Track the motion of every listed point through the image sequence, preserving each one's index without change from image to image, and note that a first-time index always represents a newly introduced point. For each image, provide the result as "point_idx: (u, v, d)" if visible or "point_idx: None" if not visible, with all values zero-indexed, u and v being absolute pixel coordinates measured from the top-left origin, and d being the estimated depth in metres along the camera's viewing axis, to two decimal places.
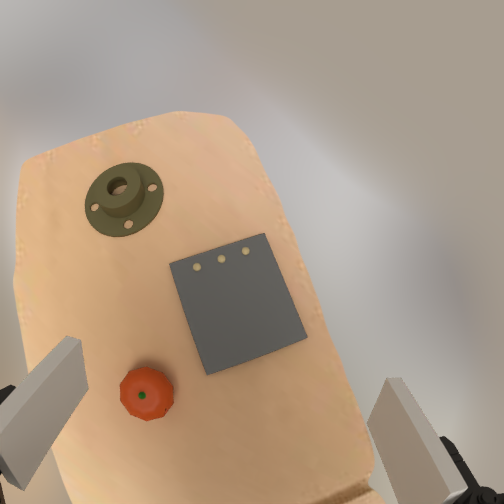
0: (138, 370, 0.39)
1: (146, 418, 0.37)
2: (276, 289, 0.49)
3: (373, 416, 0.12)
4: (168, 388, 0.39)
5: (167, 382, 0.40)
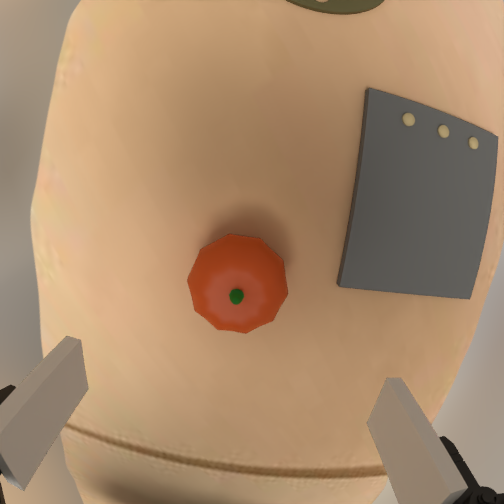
0: (248, 246, 0.23)
1: (221, 329, 0.24)
2: (478, 218, 0.26)
3: (373, 416, 0.12)
4: (285, 297, 0.24)
5: (285, 283, 0.24)
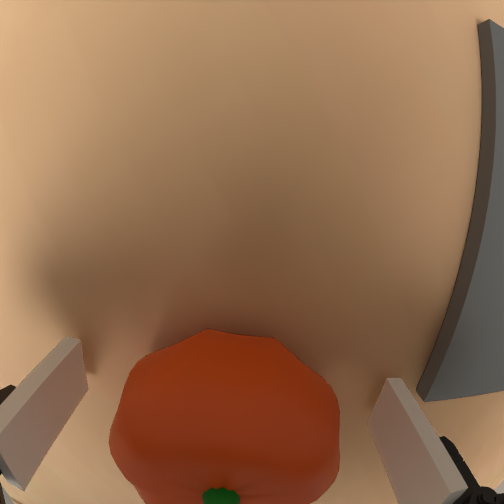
0: (250, 393, 0.07)
1: None
2: None
3: (373, 416, 0.12)
4: None
5: (338, 445, 0.09)
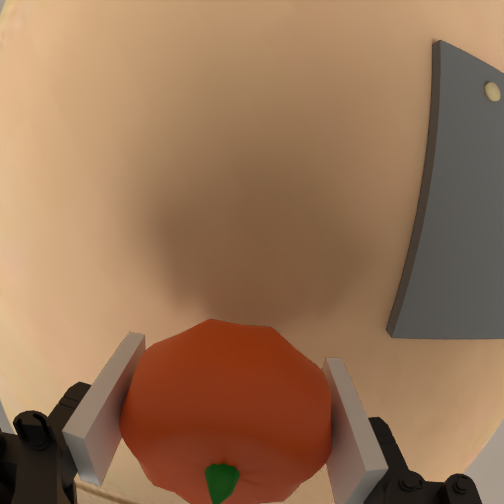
0: (249, 373, 0.08)
1: None
2: None
3: None
4: None
5: (330, 427, 0.10)
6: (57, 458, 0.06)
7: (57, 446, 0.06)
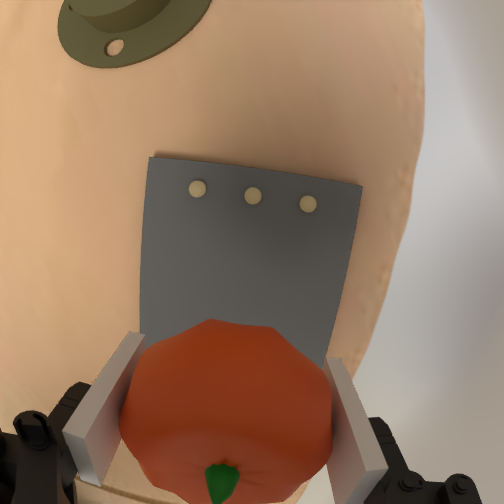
0: (249, 373, 0.08)
1: None
2: (319, 300, 0.25)
3: None
4: None
5: (331, 428, 0.10)
6: (57, 458, 0.06)
7: (57, 446, 0.06)
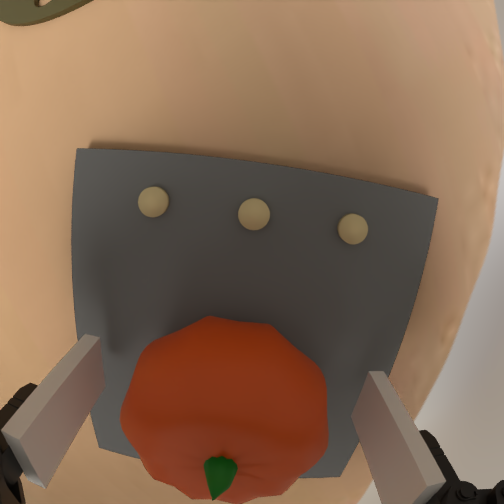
0: (247, 367, 0.09)
1: None
2: (358, 379, 0.14)
3: (356, 409, 0.13)
4: (324, 451, 0.10)
5: (327, 422, 0.10)
6: None
7: None
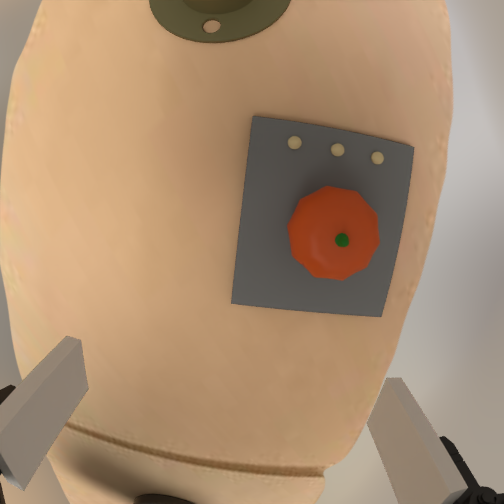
0: (349, 194, 0.24)
1: (322, 276, 0.25)
2: (385, 236, 0.29)
3: (373, 416, 0.12)
4: (379, 243, 0.25)
5: None
6: None
7: None
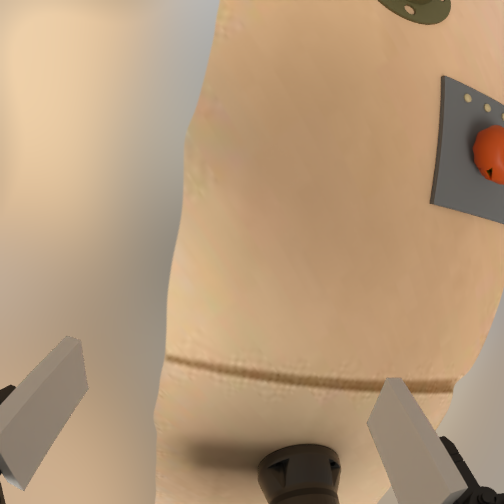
0: None
1: (501, 177, 0.29)
2: None
3: (373, 416, 0.12)
4: None
5: None
6: None
7: None
